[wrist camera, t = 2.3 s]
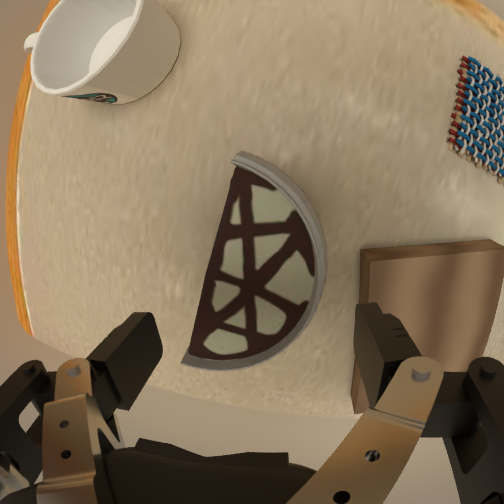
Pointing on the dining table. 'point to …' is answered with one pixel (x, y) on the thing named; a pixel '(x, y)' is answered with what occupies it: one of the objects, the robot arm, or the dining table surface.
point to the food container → (258, 271)
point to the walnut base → (435, 299)
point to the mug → (103, 49)
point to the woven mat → (480, 106)
